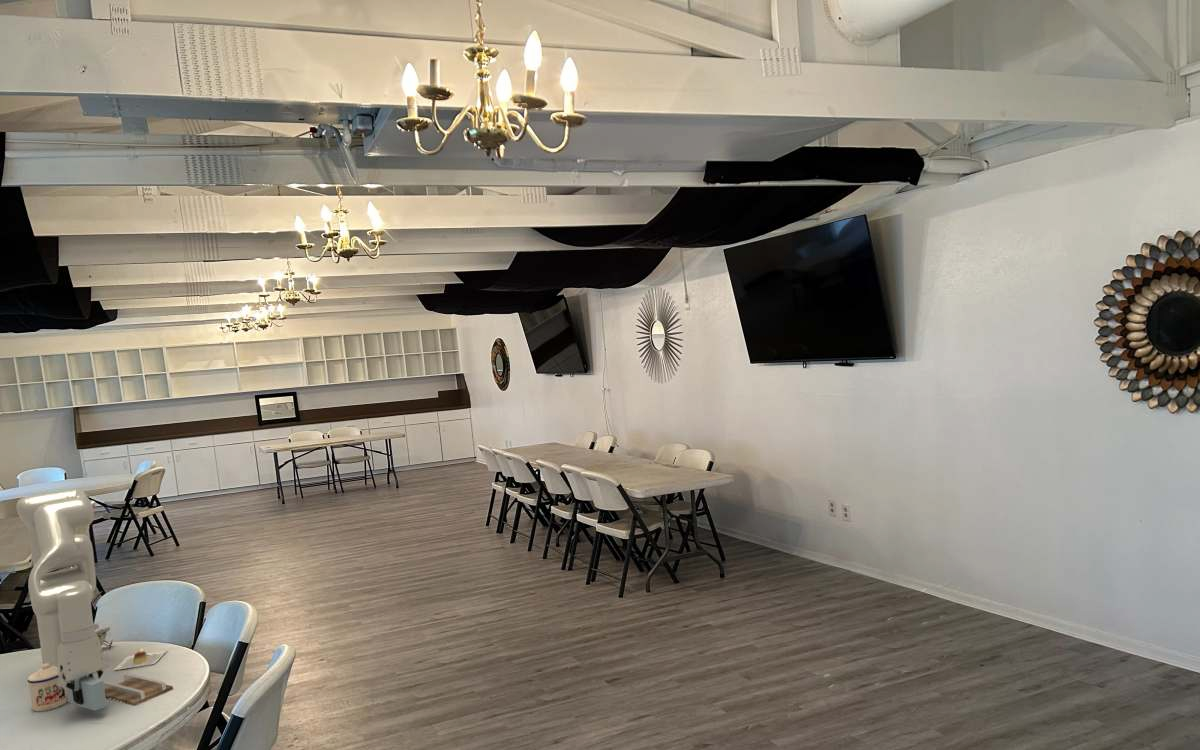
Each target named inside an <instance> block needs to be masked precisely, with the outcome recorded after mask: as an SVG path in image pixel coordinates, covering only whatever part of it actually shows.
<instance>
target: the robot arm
mask: <svg viewBox="0 0 1200 750" xmlns="http://www.w3.org/2000/svg"><path fill="white" fill-rule="evenodd" d="M15 505H16V506H15V507H16V513H17V515H18V517H19V518H20V520H21V521H22V523H23V524H24V526H25V527H26V529H27V530H28V531H27V532H28V537H29V544H30V545H29V546H30V553H31V554H30V555H31V561H32V569H31V571H30V573H29V577H28V583H27V584H28V592H29V593H28V594H29V598H30V603H31V607H32V608H31V609H32V611H33V613H34V614H35V616H36V622H37V631H38V636H39V645H40V651H41V653H40V654H41V659H42V661H41V662H42V665H43V664H47V663H49V664H50V666H55V667H58V675H59V678H58V681H57V684H56V685H57V686H59V687H67V688H69V689H71V690H72V692H73V700H74V702H75V703H77V704H80V705H81V704H83V695H82V690H81V689H80V684H79V678H81V677H84V676H90V677H93V678H96V679H100V680H101V677H102V676H103V674H104V672H106V671H107V670H108V669H109V668H110V664H109V663H108V662H107V661H106V660H105V656H104V652H103V647H102V646H103V645H102V646H101V643H100V640H99V638H98V635H97V634H95V632H96V630H97V629H99V628H100V625H99V623H94V619H93V612H92V600H94V592H95V590H96V587H97V576H96V567H95V566H96V565H95V556H94V548H93V543H92V541H91V539H90V537H89V536H88V535H86V534H84V533H77V534H74V530H73V529H75V528H79V527H81V528H82V527H86V526H90V525H92V523H93V521H94V518H95V517H94V516H95V513H94V507H93V504H92V502H91V500H90V499H89V497H88V496H87V493H86V492H85V491H84V490H83V489H82V488H78V487H77V488H68V489H67V488H66V489H62V490H56V491H50V492H48V491H47V492H44V493H43V492H42V493H36V494H32V495H27V496H24V497H22V498H20V499H18V501H17V503H16V504H15ZM69 567H70V568H69ZM50 571H51V572H50ZM65 679H66V680H67V681H70V683H69V682H65Z"/></svg>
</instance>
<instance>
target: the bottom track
mask: <svg viewBox="0 0 1200 750" xmlns="http://www.w3.org/2000/svg"><path fill="white" fill-rule="evenodd" d="M103 682H104V690H105V697H108V698H107V699H109V698H111V699H110V700H112V699H115V700H114V701H116V700H118V701H117V702H120V701H122V702H121V703H123V702H125V703H124V704H127V703H129V704H128V705H130V704H132V705H131V706H134V705H135V706H137V705H139V704H141V702H142V703H144V702H146V701H148V699H149V700H150V699H153V698H156V697H159V696H160V695H163V694H165V693H167V692H170V691H171V690H173V689H174V686H173V685H168V684H166V682H165V681H161V680H158V679H157V680H156V679H153V678H149V677H144V676H141V675H138V674H137V675H136V674H132V673H128V672H126V673H123V681H121V682H118V683H114V682H110V681H103ZM143 701H144V702H143ZM138 703H139V704H138ZM136 704H137V705H136Z"/></svg>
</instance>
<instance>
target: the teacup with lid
mask: <svg viewBox="0 0 1200 750" xmlns="http://www.w3.org/2000/svg"><path fill="white" fill-rule="evenodd" d="M58 678H59V675H58V667H55V666H50V664H49V663H47V664H43V663H42V665H41V667H40V668H39V669H38V670H37V671H36V672H33V673H32V674H30V675H29V676H28V678H27V683H28V685H29V686H28V687H29V693H30V695H29V696H30V701H31V709H32V710H33V711H34V712H44V711H49V710H53V709H55V708H59V707H61V706H64V705H65V704H66V703H67V702H68V697H67V690H66V687H59V686H57V685H56V684H57V681H58Z"/></svg>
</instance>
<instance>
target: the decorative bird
mask: <svg viewBox="0 0 1200 750" xmlns="http://www.w3.org/2000/svg"><path fill="white" fill-rule="evenodd" d="M110 630H111V626H109V627H105V628H101V629H99V630H97V631H96V630H95V634H97V635H98V638H99V640H100V643H101V646H103V645H105V646H106V647H108V649H111V647H112V645H113V640H111V642H109V641H107V640H106V638H107V635H108V633H107V632H109V631H110Z"/></svg>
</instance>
